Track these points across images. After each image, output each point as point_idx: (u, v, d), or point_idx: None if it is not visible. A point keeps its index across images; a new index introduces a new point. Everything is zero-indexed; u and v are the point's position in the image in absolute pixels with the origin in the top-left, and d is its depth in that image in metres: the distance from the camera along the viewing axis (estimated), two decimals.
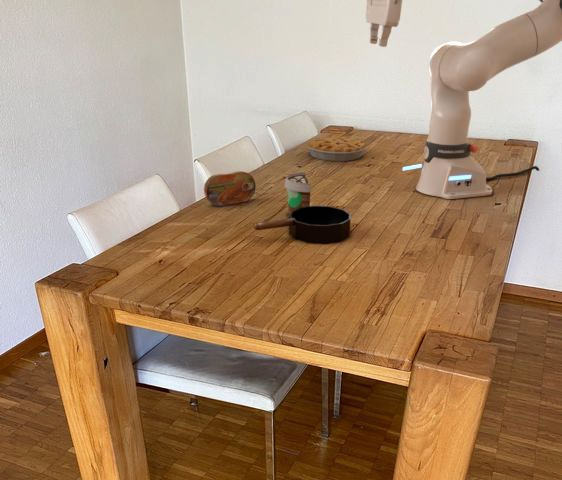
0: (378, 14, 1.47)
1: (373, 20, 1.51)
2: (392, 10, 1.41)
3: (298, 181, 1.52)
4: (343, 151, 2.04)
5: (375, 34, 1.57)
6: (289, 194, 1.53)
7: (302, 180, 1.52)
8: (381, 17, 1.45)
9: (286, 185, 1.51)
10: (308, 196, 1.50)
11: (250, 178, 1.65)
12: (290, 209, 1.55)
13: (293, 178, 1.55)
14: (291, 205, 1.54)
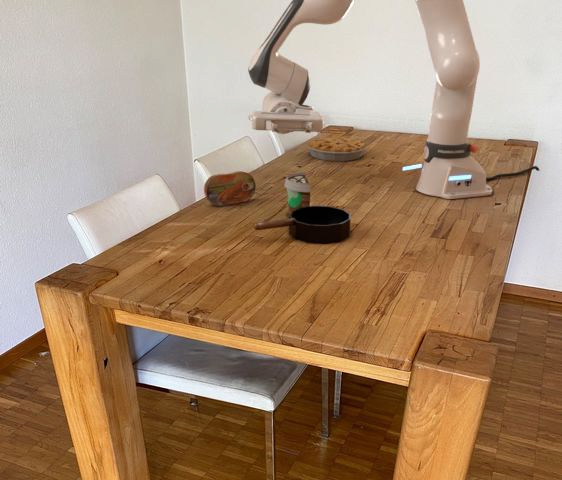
0: None
1: (292, 131, 1.64)
2: None
3: (298, 181, 1.52)
4: (343, 151, 2.04)
5: None
6: (289, 194, 1.53)
7: (302, 180, 1.52)
8: None
9: (286, 185, 1.51)
10: (308, 196, 1.50)
11: (250, 178, 1.65)
12: (290, 209, 1.55)
13: (293, 178, 1.55)
14: (291, 205, 1.54)
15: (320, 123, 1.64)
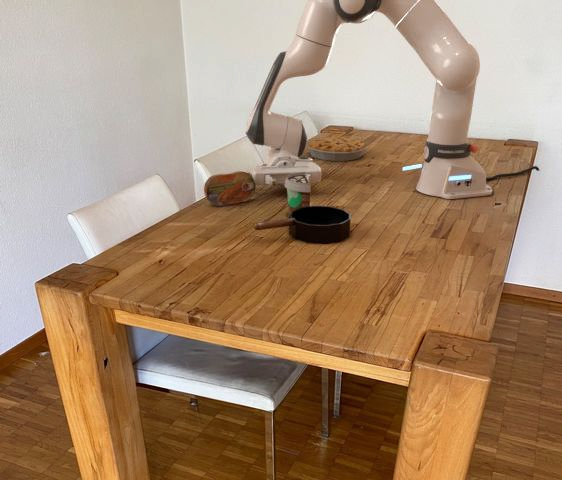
0: None
1: None
2: None
3: (298, 181, 1.52)
4: (343, 151, 2.04)
5: None
6: (289, 194, 1.53)
7: (302, 180, 1.52)
8: None
9: (286, 185, 1.51)
10: (308, 196, 1.50)
11: (250, 178, 1.65)
12: (290, 209, 1.55)
13: (293, 178, 1.55)
14: (291, 205, 1.54)
15: (319, 174, 1.69)
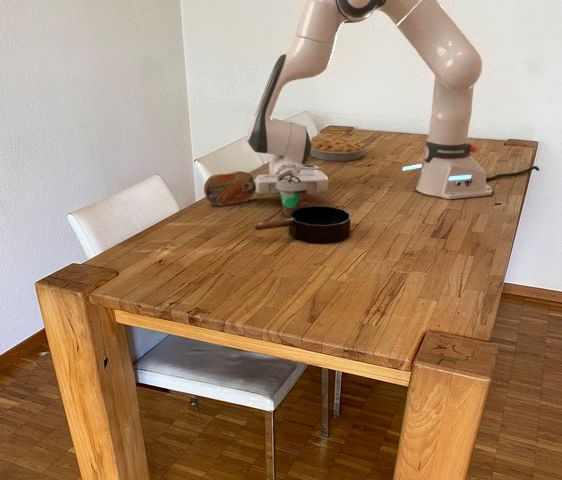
0: None
1: None
2: None
3: (290, 181, 1.51)
4: (343, 151, 2.04)
5: None
6: (284, 195, 1.52)
7: (293, 179, 1.52)
8: None
9: (280, 187, 1.50)
10: (305, 193, 1.49)
11: (250, 178, 1.65)
12: (287, 210, 1.54)
13: (283, 179, 1.54)
14: (288, 206, 1.53)
15: (325, 183, 1.61)
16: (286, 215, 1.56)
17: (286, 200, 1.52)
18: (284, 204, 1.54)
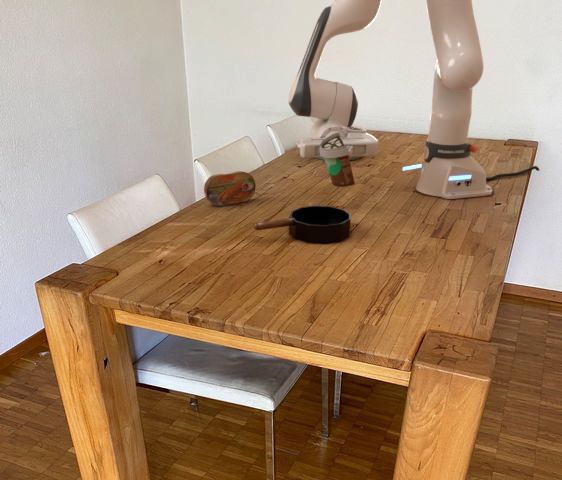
0: None
1: None
2: (300, 150, 1.51)
3: (333, 145, 1.40)
4: None
5: None
6: (327, 162, 1.41)
7: (337, 143, 1.41)
8: None
9: (321, 154, 1.40)
10: (347, 159, 1.38)
11: (250, 178, 1.65)
12: (332, 177, 1.44)
13: (327, 143, 1.43)
14: (332, 173, 1.43)
15: (375, 146, 1.50)
16: (332, 182, 1.46)
17: (329, 167, 1.42)
18: (329, 171, 1.44)
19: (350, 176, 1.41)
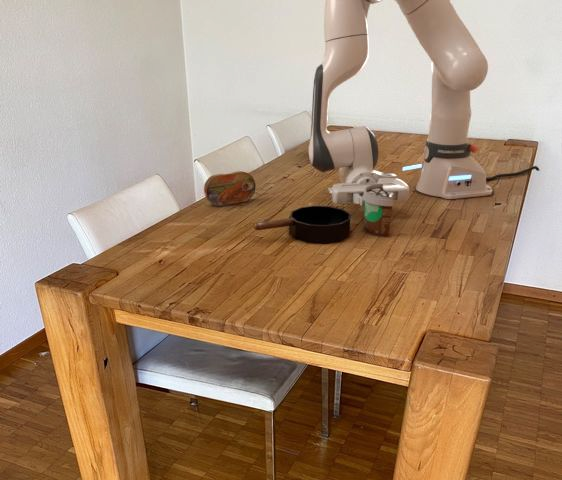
0: None
1: None
2: (332, 196, 1.53)
3: (378, 194, 1.43)
4: None
5: None
6: (368, 208, 1.43)
7: (382, 193, 1.43)
8: None
9: (365, 198, 1.42)
10: (390, 210, 1.40)
11: (250, 178, 1.65)
12: (368, 223, 1.45)
13: (371, 191, 1.45)
14: (369, 219, 1.44)
15: (407, 193, 1.51)
16: (366, 229, 1.47)
17: (369, 213, 1.44)
18: (366, 217, 1.45)
19: (386, 227, 1.43)
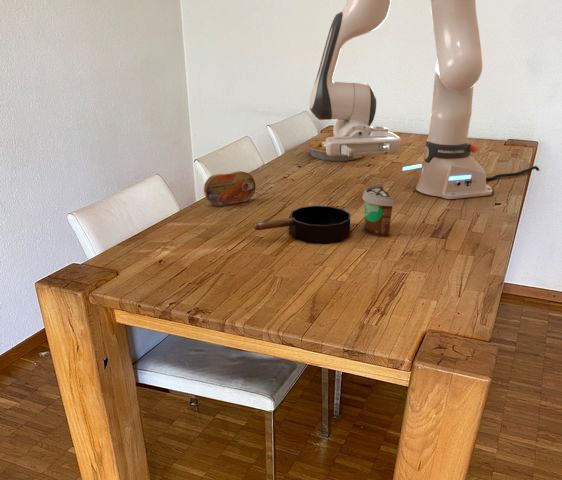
0: None
1: (368, 154, 1.57)
2: (326, 148, 1.58)
3: (378, 194, 1.43)
4: None
5: None
6: (368, 208, 1.43)
7: (382, 193, 1.43)
8: None
9: (365, 198, 1.42)
10: (390, 210, 1.40)
11: (250, 178, 1.65)
12: (368, 223, 1.45)
13: (371, 191, 1.45)
14: (369, 219, 1.44)
15: (398, 144, 1.56)
16: (366, 229, 1.47)
17: (369, 213, 1.44)
18: (366, 217, 1.45)
19: (386, 227, 1.43)
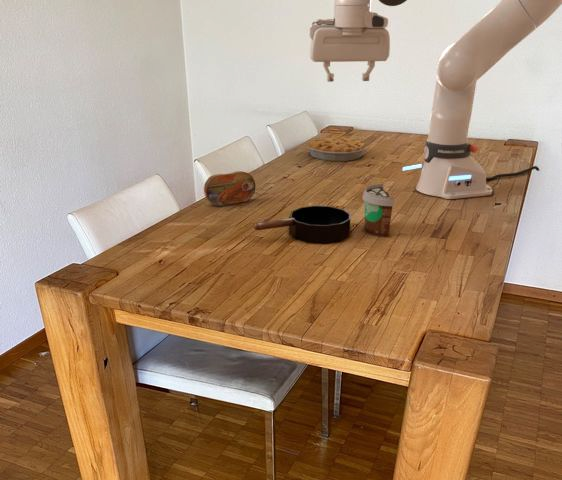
0: None
1: None
2: (311, 46, 1.47)
3: (378, 194, 1.43)
4: (343, 151, 2.04)
5: (367, 71, 1.51)
6: (368, 208, 1.43)
7: (382, 193, 1.43)
8: None
9: (365, 198, 1.42)
10: (390, 210, 1.40)
11: (250, 178, 1.65)
12: (368, 223, 1.45)
13: (371, 191, 1.45)
14: (369, 219, 1.44)
15: None
16: (366, 228, 1.47)
17: (369, 213, 1.44)
18: (366, 217, 1.45)
19: (386, 227, 1.43)
